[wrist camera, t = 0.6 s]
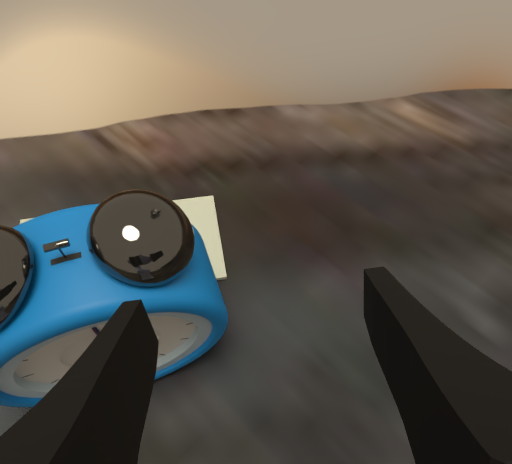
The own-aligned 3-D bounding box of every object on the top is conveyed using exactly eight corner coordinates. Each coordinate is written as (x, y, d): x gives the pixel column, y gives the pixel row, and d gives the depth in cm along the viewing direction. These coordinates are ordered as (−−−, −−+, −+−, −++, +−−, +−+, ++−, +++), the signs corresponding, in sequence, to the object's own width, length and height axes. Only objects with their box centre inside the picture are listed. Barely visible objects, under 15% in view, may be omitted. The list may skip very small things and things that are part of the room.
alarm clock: (37, 423, 26) (-148, 363, 14) (30, 334, 29) (-127, 216, 17) (231, 356, 29) (228, 253, 16) (207, 281, 32) (188, 145, 19)
